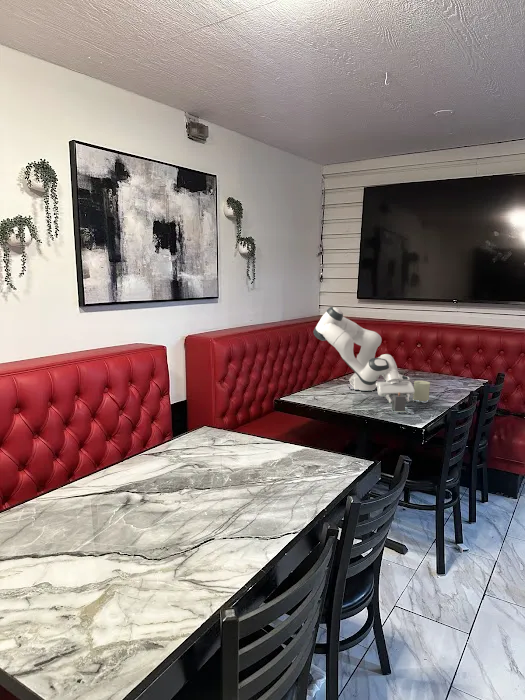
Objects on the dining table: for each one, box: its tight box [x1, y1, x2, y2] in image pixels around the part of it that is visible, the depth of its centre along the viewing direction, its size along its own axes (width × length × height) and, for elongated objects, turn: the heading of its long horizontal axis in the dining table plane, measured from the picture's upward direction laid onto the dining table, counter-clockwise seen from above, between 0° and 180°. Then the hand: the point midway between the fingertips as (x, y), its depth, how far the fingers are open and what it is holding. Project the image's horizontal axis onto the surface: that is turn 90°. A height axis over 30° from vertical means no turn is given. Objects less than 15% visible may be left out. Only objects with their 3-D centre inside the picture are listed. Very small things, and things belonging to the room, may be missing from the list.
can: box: [412, 380, 431, 401], centre depth 270 cm, size 9×9×12 cm
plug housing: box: [391, 392, 407, 411], centre depth 247 cm, size 4×6×10 cm
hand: (399, 402), depth 247 cm, fingers open, 8 cm apart
